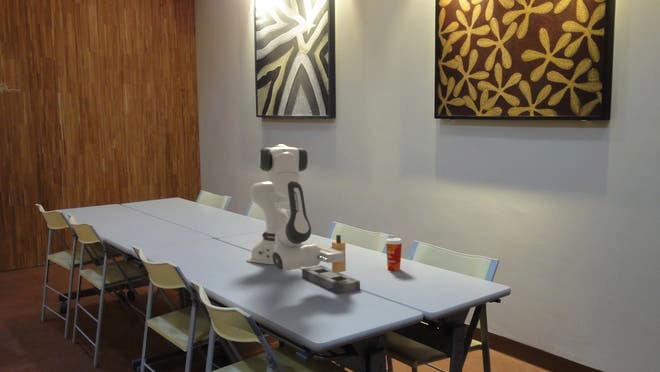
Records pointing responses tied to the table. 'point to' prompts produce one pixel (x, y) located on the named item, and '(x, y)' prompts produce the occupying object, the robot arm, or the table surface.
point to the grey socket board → (331, 279)
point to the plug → (338, 246)
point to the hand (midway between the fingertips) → (340, 250)
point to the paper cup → (393, 253)
